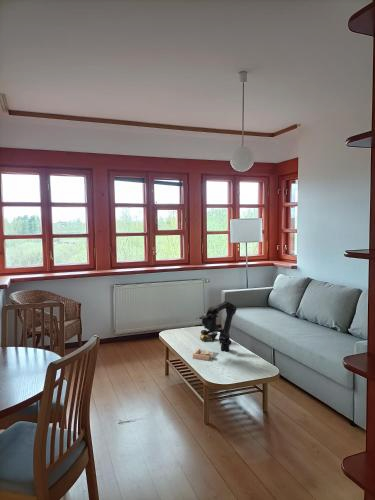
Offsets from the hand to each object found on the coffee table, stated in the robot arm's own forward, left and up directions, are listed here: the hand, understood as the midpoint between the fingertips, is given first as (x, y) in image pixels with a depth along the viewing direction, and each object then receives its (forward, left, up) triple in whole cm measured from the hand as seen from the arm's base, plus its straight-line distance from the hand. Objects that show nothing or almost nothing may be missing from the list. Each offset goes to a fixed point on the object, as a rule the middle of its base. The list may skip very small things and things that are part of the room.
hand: (212, 342), depth 298 cm
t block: (+3, +5, -12) cm, 13 cm away
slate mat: (+5, +1, -12) cm, 13 cm away
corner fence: (+6, +3, -12) cm, 14 cm away
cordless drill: (+19, -36, -12) cm, 43 cm away
